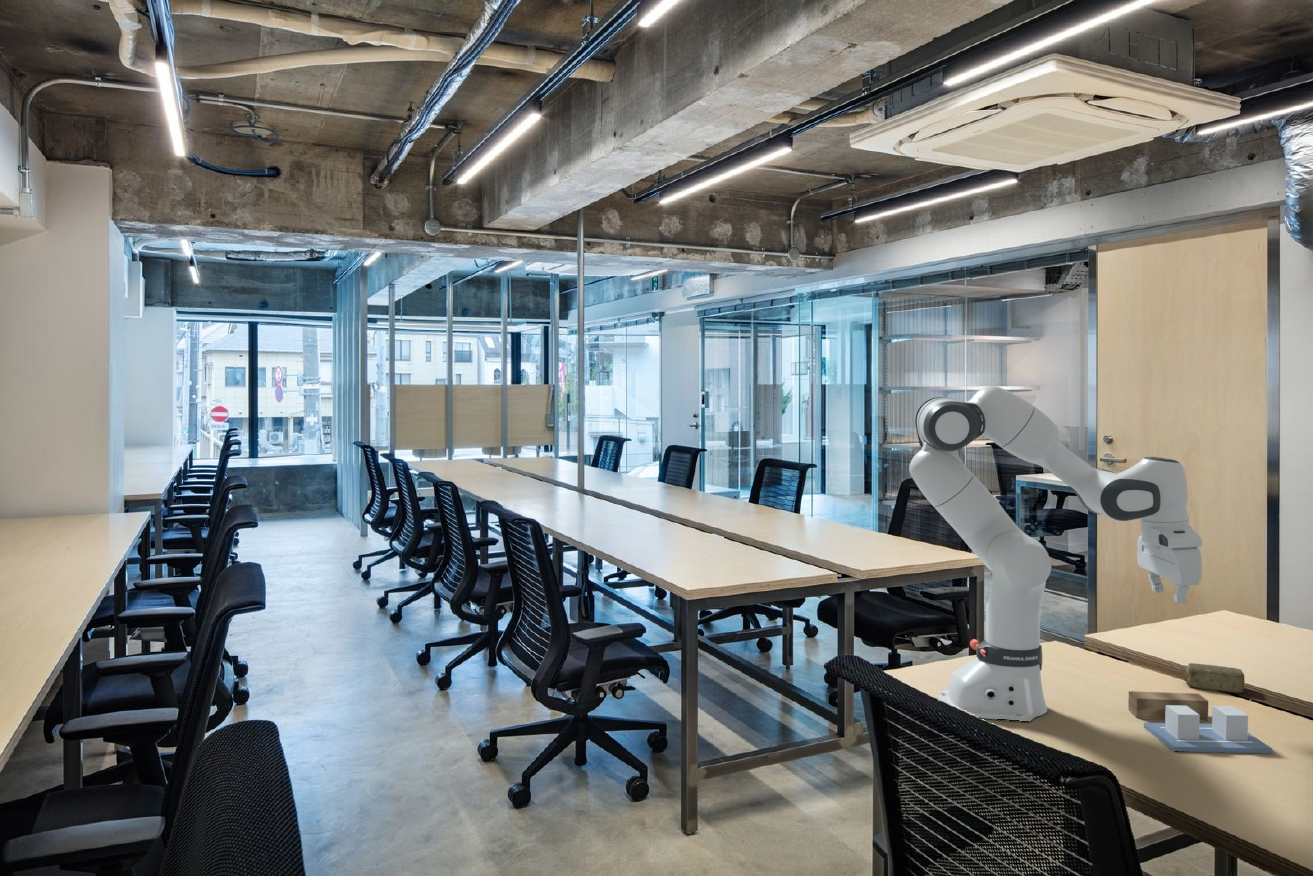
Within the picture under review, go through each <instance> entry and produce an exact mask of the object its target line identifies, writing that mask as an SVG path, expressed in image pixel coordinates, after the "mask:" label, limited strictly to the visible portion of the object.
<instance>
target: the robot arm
mask: <svg viewBox="0 0 1313 876" xmlns="http://www.w3.org/2000/svg"><path fill="white" fill-rule="evenodd" d="M914 422H915V430H916V433H917V439H918V444H919V446H920V447H921V449H920V450H918V452H917V453H915V454H914V456H913V457H912V459H911V461H910V463H909V467H908V468H909V469H908V471H909V474H910V477H911V478H912V480H913V482H914V484H916V485H915V486H916V487H917V488H918V489H919V490H920V492H921V493H922V495H923V496H924V498H926V500H927V501H928V502H929V503H930V505H932V507H933V508H934V509H935V510H936V511H937V512H938V513H939V514H940V516H941V517H943V519H944V520H945V522H947V523H948V524H949V526H951V527H952V529H953V530H954V531H955V532H956V533H957V535H959V537H961V539H962V540H963V542H964V543H965V544H966V545H967V547H969V549H970V550H971V551H972V552H973V553H974V554H975V555H976V557H977V558H978V559H979V561H981V563H983V564H984V566H985V567H986V568H987V569H988V570H990V572H991V575H992V577H991V578H992V579H991V587H990V592H989V597H988V602H987V603H986V605H985V639H984V640H983V641H981V642H979V640H978V639H975V638H973V639H971V640H970V642H969V646H970V648H972V649H973V650H974V651H976V654H975V655H976V656H975V657H974V658H972V659H971V660H969V661H968V662H967V663H965V664H964V665H962V666H960V667H959V668H957V669H955V670H954V671H953V673H952V674H951V677H950V679H949V685H948V689H946V690H944V689H943V690H941V691H940V692H939V693H938V698H937V699H939V700H943V701H945V702H946V703H948V704H950V705H954V706H956V707H958V708H960V709H961V710H966V711H967V712H969V713H971V714H975V716H978V717H980V718H979V719H986V720H997V719H1013V720H1022V721H1029V722H1031V720H1032V719H1033V720H1034V718H1037V717H1040V716H1042V715H1045V714H1046V713H1047V712H1048V706H1047V704H1046V700H1045V695H1044V690H1043V684H1042V676H1041V675H1042V674H1041V671H1042V669H1043V668H1042V667H1043V648H1042V645H1041V642H1040V641H1041V639H1040V638H1041V610H1042V609H1041V608H1042V602H1043V598H1044V593H1045V589H1046V584H1047V580H1048V579H1049V577H1050V575H1051V571H1052V560H1051V557H1050V556H1049V553H1048V551H1047V550H1046V548H1045V546H1043V544H1042V543H1041V542H1040V541H1038V540H1036V539H1035V538H1033V537H1031V536H1029V535H1028V534H1027V533H1025V532H1024V531H1023V530H1021V528H1020V527H1019V526H1017V524H1016V523H1015V522H1014V520H1013V519H1012V518H1011V516H1009V514H1008V513H1007V512H1006V511H1005V509H1004V508H1003V506H1002V505H1001V504H1000V501H998V500H997V498H996V497H995V496H994V495H993V494H992V493H991V492H990V490H988V488H987V487H986V486H985V485H984V484H983V483H982V482H981V481H980V480H979V479H978V478H977V477H976V475H975V474H974V473H973V472H972V471H971V470H970V469H969V468H968V467H967V466H966V464H964V462H963V461H962V459H961V458H960V455H959V451H960V450H962V449H963V448H965V447H967V446H968V445H970V444H971V443H972V442H974V441H975V440H976V439H978V438H980V437H981V436H983V437H985V438H986V439H988V440H990V441H992V442H993V443H995V444H996V446H999V448H1002V449H1003V450H1004V451H1005V452H1008V453H1009V454H1011V455H1013V456H1014V457H1016V458H1018V459H1020V460H1022V461H1025V462H1027V463H1030V464H1034V465H1038V466H1039V467H1042V468H1043V469H1045V470H1046V471H1048V472H1049V473H1051V474H1052V475H1054V476H1055V477H1056V478H1058V479H1059V480H1060V481H1062V482H1063V483H1065V484H1066V485H1067V486H1069V487H1070V488H1071V489H1072V490H1073V491H1074V493H1075V495H1076V496H1077V498H1078V500H1079V502H1080V503H1081V505H1083V508H1085V509H1086V510H1088V511H1089V512H1091V513H1093V514H1095V515H1099V516H1100V515H1101V516H1104V517H1106V518H1109V519H1111V520H1114V521H1117V522H1128V521H1132V520H1137V519H1138V520H1140V524H1141V525H1140V526H1141V529H1140V535H1139V536H1138V538H1137V545H1136V561H1137V565H1138V566H1139V568H1141V569H1144V570H1146V571H1147V575H1148V578H1149V582H1150V583H1151V591H1152V592H1154V593H1157V594H1158V593H1159V594H1161V593H1163V592H1164V584H1163V583H1162V579H1161V577H1162V578H1165V579H1167V580H1169V581H1171V582H1174V587H1175V588H1176V589H1175V593H1173V601H1174V602H1176V603H1177V604H1186V603H1187V594H1188V591H1189V589H1190V586H1197V585H1199V584H1200V583H1201V581H1202V578H1203V577H1202V573H1203V572H1202V571H1203V570H1202V567H1203V566H1202V565H1203V564H1202V554H1201V553H1202V552H1201V551H1200V547H1203V538H1202V537H1201V535H1199V534H1198V533H1197V532H1196V531H1195V530H1194V529H1193V526H1192V525H1190V517H1189V514H1188V511H1187V504H1188V500H1189V494H1188V492H1189V491H1188V484H1187V482H1188V481H1187V478H1186V477H1187V476H1186V472H1185V469H1184V466H1183V464H1182V463H1181V462H1180V461H1178V460H1175V459H1172V458H1166V457H1165V458H1164V457H1159V456H1145V457H1143V458H1141V459H1140V461H1138V462H1137V463H1135V464H1134V465H1133V466H1130V467H1129V468H1127V469H1126V470H1123V471H1121V472H1118V473H1116V472H1113V471H1111V470H1108V469H1103V468H1099V467H1095V466H1093V465H1090V464H1089V463H1087V462H1086V461H1085V460H1083V459H1082V458H1081V457H1079V456H1078V455H1077V454H1075V453H1073V452H1072V451H1071V450H1069V449H1068V448H1067V447H1066V446H1065V445H1064V444H1063V443H1062V441H1061V440H1060V431H1059V428H1058V426H1057V424H1055V422H1054V421H1053V420H1051V418H1050V417H1048V415H1046V414H1045V413H1044V412H1043V411H1041V410H1040V409H1038V408H1037V407H1036V406H1034V405H1033V404H1032V403H1030V402H1028V401H1027V400H1025V399H1024V398H1021V397H1020V396H1019V395H1016V394H1015V393H1013V392H1011V391H1008V390H1006V389H1004V388H1002V387H1001V386H1000V387H999V386H997V385H987V386H985V387H983V388H980V389H979V390H978V391H977V392H975V393H974V394H973V396H972V397H971V399H968V400H967V401H959V400H957V399H953V398H950V397H943V396H938V397H932V398H930V399H928V400H925V402H923V403H922V404H921V405H920V407H918V410H917V412H916V415H915V421H914ZM939 700H938V701H939ZM1033 720H1032V721H1033Z"/></svg>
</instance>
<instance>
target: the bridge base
mask: <svg viewBox="0 0 1313 876" xmlns="http://www.w3.org/2000/svg"><path fill="white" fill-rule="evenodd" d="M1211 708H1212V711H1211V712H1212V713H1211V723H1200V722H1201V721H1200V715H1199V714H1198V713H1196V712H1195V711H1193V710H1192V709H1191V708H1189V707H1188V706H1180V705H1166V711H1165V719H1164V720H1165V722H1144V723H1143V728H1144V729H1145V728H1146V729H1147V731H1148V732H1149V733H1150V732H1151V733H1152V734H1151V733H1150V734H1151V735H1153V737H1155V738H1156V737H1157V738H1158V739H1157V738H1156V739H1157V740H1158V741H1159V742H1161V743H1162V742H1163V743H1164V744H1163V743H1162V744H1163V745H1165V746H1166V747H1167V746H1168V747H1169V748H1168V747H1167V748H1168V749H1169V750H1170V751H1172V752H1173V751H1184V752H1183V753H1219V752H1225V754H1226V753H1227V754H1228V753H1230V754H1231V753H1234V754H1236V753H1237V754H1273V748H1272V747H1271V746H1269V745H1268V744H1266V743H1265V742H1263V741H1261V740H1260V739H1259V738H1257V737H1256V736H1254V735H1252V734H1251V733H1250V732H1249V731H1248V730H1249V715H1248V714H1246V713H1245V712H1243V711H1242V710H1240V709H1238V708H1236V706H1233V705H1212V707H1211ZM1146 729H1145V730H1146ZM1186 751H1188V752H1186ZM1200 751H1202V752H1200ZM1205 751H1206V752H1205Z"/></svg>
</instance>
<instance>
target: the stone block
mask: <svg viewBox="0 0 1313 876" xmlns="http://www.w3.org/2000/svg"><path fill="white" fill-rule="evenodd" d="M1184 678H1185V684H1186V685H1187V686H1190V687H1192V688H1194V689H1200V690H1209V691H1217V692H1226V693H1232V694H1233V693H1234V694H1242V693H1243V692H1244V689H1245V673H1244V672H1243V671H1242V669H1240V668H1235V667H1229V666H1228V667H1227V666H1223V665H1220V666H1219V665H1212V664H1204V663H1203V664H1202V663H1193V662H1190V663H1188V665H1187V667H1186V670H1185V677H1184Z"/></svg>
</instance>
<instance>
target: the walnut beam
mask: <svg viewBox="0 0 1313 876" xmlns="http://www.w3.org/2000/svg"><path fill="white" fill-rule="evenodd" d="M1127 705H1128V707H1127V709H1128V710H1129V711H1130V714H1131V715H1133V717H1135V718H1136V719H1144V720H1145V718H1151V719H1150V720H1165V711H1166V705H1180V706H1188V707H1189V708H1191V709H1192V710H1193V711H1195V712H1196V713H1198V714H1199V715H1200V722H1201V720H1202V722H1207V721H1208V722H1209V700H1208V699H1207V698H1205V697H1203V696H1202V695H1201V694H1199V693H1191V692H1190V693H1189V692H1163V691H1162V692H1161V691H1159V692H1158V691H1135V690H1134V691H1133V690H1131V691H1130V690H1129V691H1128V704H1127ZM1129 711H1128V712H1129Z"/></svg>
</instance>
